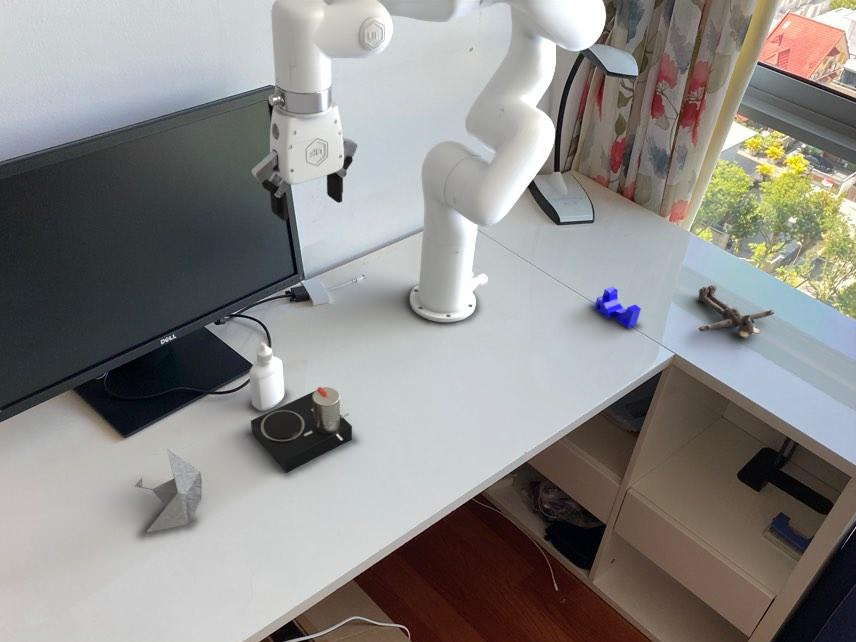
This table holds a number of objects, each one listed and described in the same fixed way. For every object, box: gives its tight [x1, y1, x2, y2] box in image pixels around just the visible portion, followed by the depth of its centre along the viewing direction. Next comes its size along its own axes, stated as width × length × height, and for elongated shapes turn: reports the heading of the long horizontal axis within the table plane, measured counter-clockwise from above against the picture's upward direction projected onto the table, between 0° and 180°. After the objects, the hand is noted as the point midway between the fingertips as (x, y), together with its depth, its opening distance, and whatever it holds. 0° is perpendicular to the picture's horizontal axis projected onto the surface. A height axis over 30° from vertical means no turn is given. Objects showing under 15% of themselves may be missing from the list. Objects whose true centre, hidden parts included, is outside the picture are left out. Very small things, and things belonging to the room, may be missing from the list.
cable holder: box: [594, 286, 642, 329], centre depth 154 cm, size 8×4×4 cm, turn 32°
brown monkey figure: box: [698, 284, 775, 338], centre depth 156 cm, size 18×4×14 cm
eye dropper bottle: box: [248, 342, 285, 412], centre depth 127 cm, size 4×6×12 cm
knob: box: [313, 386, 341, 434], centre depth 122 cm, size 4×4×6 cm
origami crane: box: [134, 448, 203, 534], centre depth 113 cm, size 12×6×9 cm
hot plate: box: [250, 390, 353, 474], centre depth 125 cm, size 13×12×3 cm
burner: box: [261, 411, 305, 442], centre depth 123 cm, size 7×7×1 cm
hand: (308, 207), depth 122 cm, fingers open, 9 cm apart
